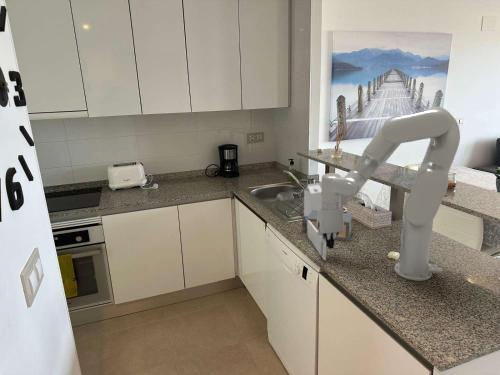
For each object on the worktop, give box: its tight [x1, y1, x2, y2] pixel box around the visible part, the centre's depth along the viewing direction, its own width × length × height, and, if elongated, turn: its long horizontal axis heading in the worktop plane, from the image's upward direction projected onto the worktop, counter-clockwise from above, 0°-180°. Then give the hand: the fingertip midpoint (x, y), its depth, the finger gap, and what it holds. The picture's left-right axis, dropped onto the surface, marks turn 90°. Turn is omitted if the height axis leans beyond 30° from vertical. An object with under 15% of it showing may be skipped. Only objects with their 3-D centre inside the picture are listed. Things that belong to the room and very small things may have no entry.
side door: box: [306, 220, 327, 261], centre depth 149 cm, size 25×2×8 cm, turn 7°
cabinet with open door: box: [301, 210, 353, 242], centre depth 163 cm, size 22×12×10 cm, turn 69°
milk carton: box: [303, 182, 321, 217], centre depth 182 cm, size 7×7×19 cm
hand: (329, 247), depth 140 cm, fingers closed
